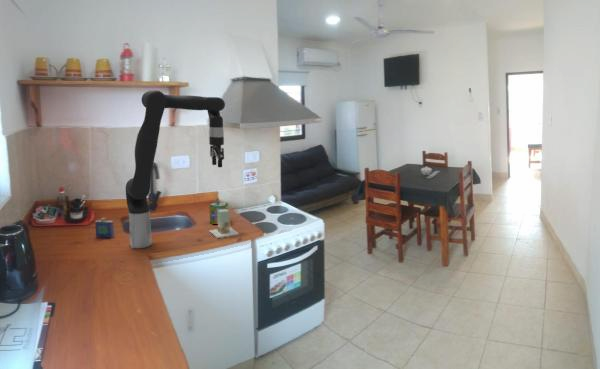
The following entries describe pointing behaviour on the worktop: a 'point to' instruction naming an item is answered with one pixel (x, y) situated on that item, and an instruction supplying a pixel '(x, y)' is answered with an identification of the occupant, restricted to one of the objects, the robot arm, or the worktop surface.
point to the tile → (219, 235)
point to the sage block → (223, 215)
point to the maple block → (224, 227)
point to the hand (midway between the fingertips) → (217, 166)
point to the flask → (104, 229)
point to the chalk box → (214, 208)
